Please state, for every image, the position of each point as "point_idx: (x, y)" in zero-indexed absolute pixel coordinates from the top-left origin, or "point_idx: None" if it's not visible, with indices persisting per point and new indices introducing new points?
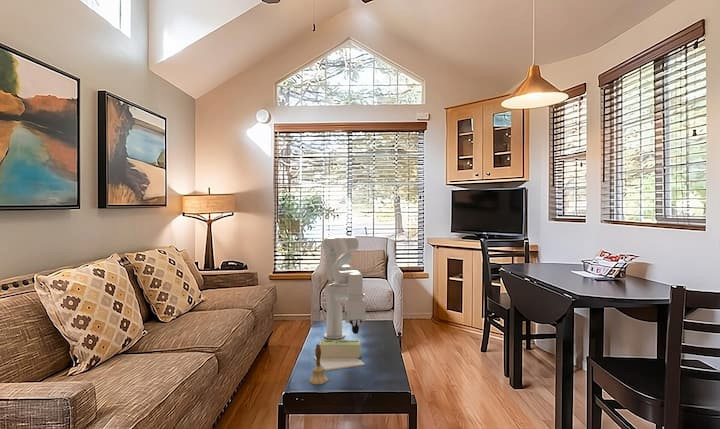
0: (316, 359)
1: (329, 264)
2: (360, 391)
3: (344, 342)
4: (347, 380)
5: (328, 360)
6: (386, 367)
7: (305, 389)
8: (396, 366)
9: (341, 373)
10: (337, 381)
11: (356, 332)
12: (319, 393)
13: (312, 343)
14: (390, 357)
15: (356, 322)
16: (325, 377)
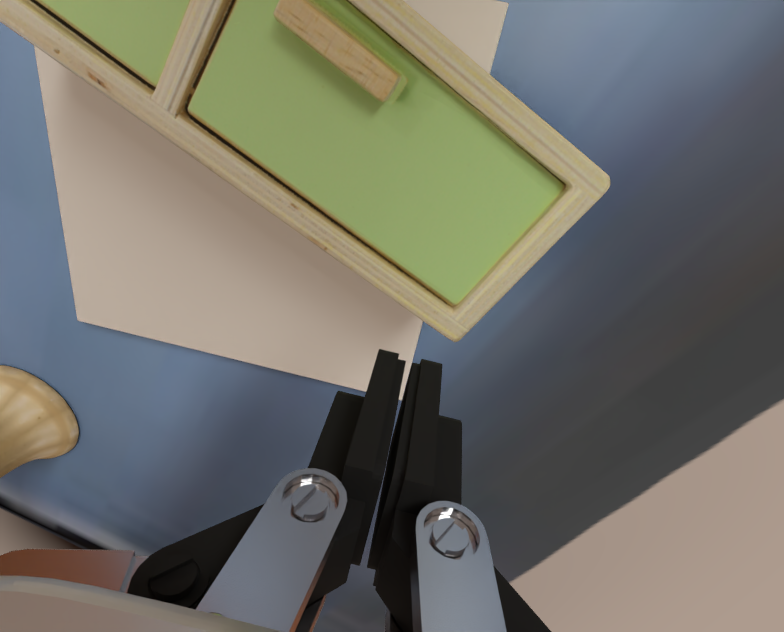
0: None
1: None
2: None
3: (348, 92)
4: (185, 493)
5: (150, 156)
6: (508, 499)
7: None
8: (577, 523)
9: (186, 408)
10: (128, 474)
11: (390, 451)
12: (15, 515)
13: None
14: (721, 389)
15: (427, 578)
16: (47, 452)
